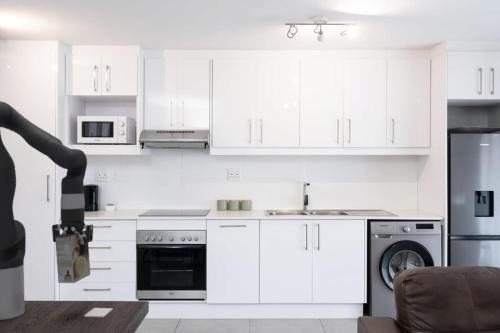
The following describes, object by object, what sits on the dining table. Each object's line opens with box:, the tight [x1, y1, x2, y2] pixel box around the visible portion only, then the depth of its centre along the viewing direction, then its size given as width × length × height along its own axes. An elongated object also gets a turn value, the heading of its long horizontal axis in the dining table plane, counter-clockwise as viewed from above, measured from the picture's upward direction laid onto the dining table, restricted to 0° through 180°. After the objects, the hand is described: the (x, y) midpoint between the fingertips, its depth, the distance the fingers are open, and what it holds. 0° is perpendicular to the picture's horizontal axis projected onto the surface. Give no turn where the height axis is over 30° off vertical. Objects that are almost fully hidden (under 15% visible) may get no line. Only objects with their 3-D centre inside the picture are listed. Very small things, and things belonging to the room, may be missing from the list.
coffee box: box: [54, 230, 91, 284], centre depth 131 cm, size 9×6×16 cm
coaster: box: [83, 307, 113, 318], centre depth 134 cm, size 7×7×1 cm
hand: (72, 254), depth 131 cm, fingers closed on coffee box, 6 cm apart
